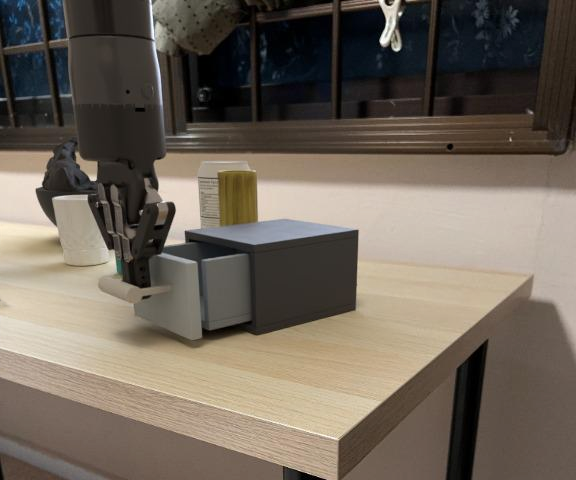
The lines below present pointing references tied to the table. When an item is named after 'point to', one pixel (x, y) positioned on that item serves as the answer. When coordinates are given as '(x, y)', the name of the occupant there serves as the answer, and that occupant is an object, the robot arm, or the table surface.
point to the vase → (237, 197)
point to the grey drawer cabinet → (292, 269)
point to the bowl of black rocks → (63, 178)
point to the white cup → (79, 231)
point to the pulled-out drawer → (191, 289)
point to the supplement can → (213, 189)
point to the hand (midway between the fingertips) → (138, 298)
